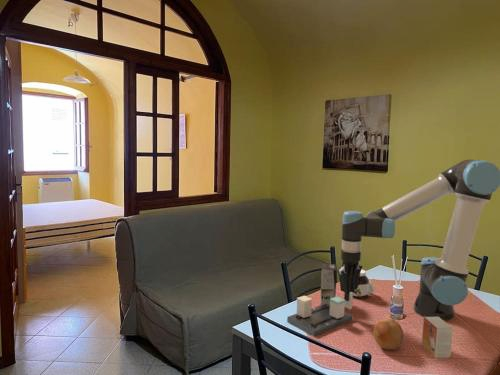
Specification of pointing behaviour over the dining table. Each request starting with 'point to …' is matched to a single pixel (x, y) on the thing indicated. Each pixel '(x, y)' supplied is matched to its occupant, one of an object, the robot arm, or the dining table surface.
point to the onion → (388, 334)
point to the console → (318, 320)
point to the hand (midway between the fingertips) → (348, 307)
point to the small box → (437, 337)
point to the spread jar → (363, 286)
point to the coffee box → (328, 283)
